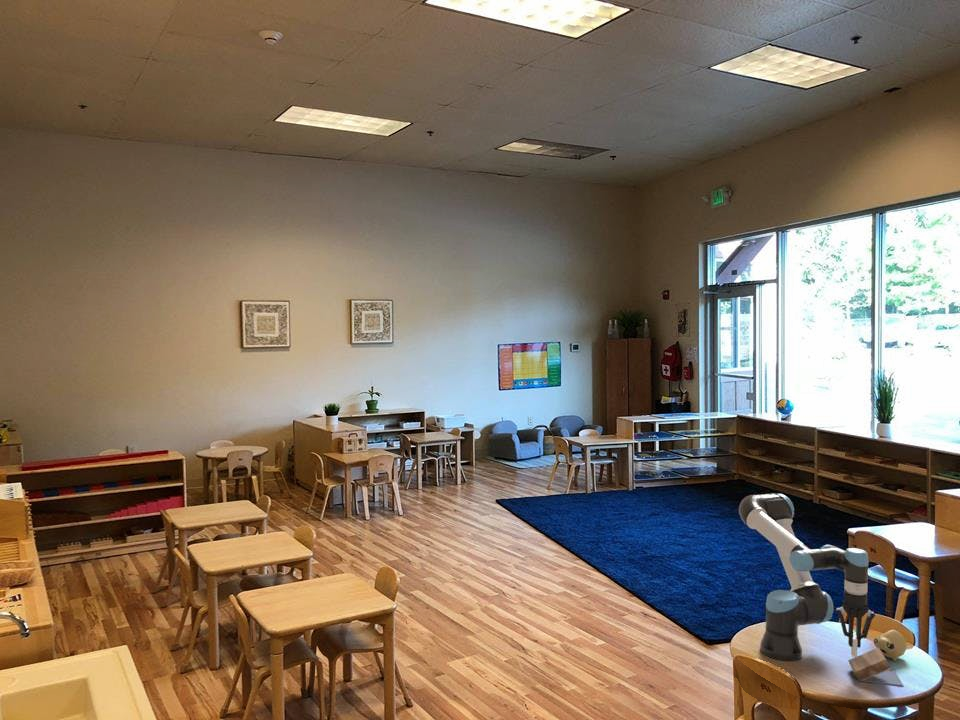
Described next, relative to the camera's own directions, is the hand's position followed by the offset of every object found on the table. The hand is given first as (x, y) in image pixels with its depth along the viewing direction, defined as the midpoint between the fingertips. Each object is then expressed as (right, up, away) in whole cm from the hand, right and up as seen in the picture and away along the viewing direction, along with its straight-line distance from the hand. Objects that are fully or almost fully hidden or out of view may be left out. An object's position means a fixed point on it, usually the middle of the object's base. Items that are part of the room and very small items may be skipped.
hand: (854, 655), depth 267 cm
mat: (+9, -8, 0) cm, 12 cm away
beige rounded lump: (+22, -7, +15) cm, 27 cm away
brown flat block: (0, -6, +1) cm, 6 cm away
